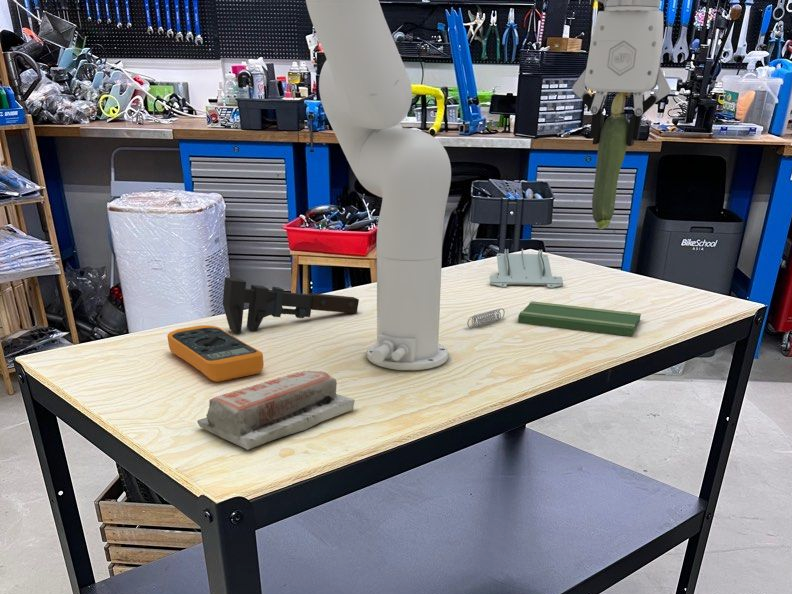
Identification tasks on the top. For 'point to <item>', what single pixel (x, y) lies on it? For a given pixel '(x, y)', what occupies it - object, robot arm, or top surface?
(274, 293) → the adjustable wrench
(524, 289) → the top surface
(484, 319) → the spring
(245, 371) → the multimeter
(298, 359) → the top surface
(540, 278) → the metal bracket
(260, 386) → the packaged product
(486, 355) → the top surface
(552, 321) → the green rectangular slab
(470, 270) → the top surface
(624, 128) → the vegetable
